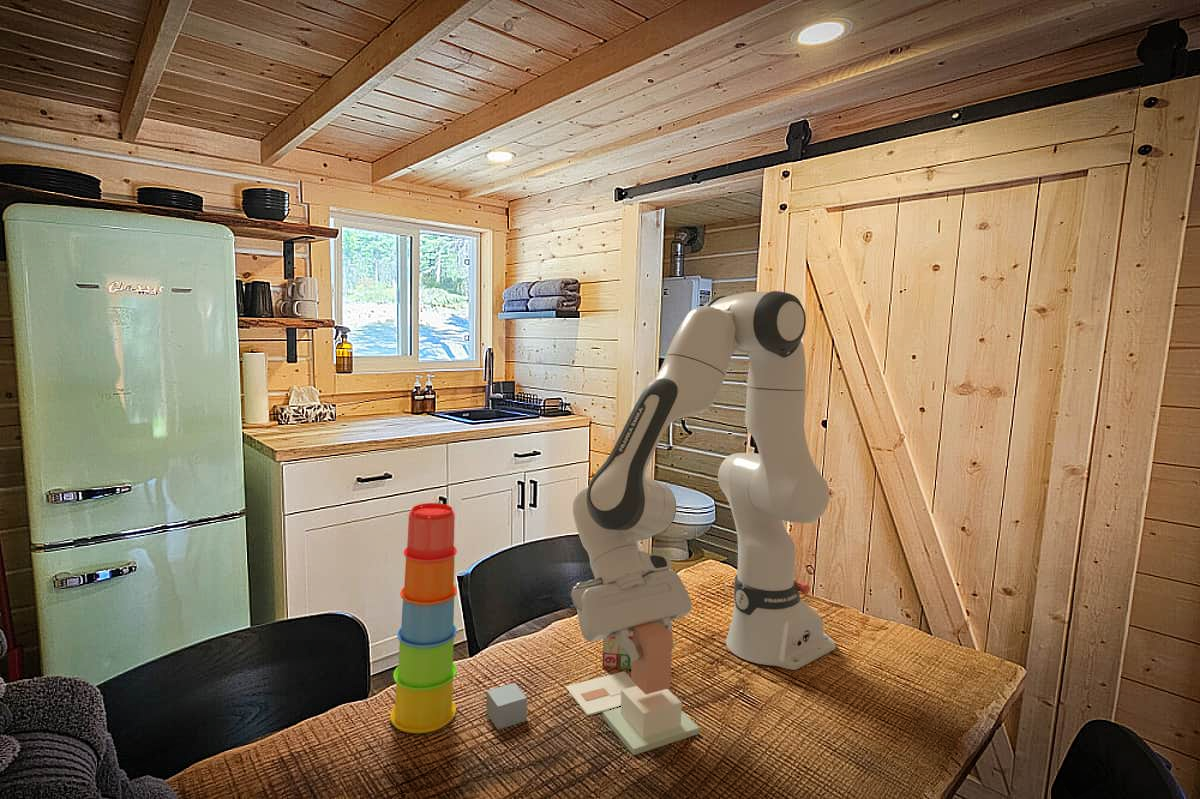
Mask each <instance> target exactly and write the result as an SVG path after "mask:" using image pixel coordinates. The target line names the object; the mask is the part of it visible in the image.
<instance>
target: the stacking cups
mask: <svg viewBox="0 0 1200 799" xmlns="http://www.w3.org/2000/svg"><path fill="white" fill-rule="evenodd" d="M455 518H456V517H455V511H454V510H453V507H452V506H450V505H448V504H446V503H445V504H444V503H440V502H439V503H437V502H434V503H433V502H429V503H428V502H427V503H421V504H416V505H414V506H412V508H411V510H410V511H409V513H408V524H407V526H408V527H407V544H406V545H407V546H406V548H404V550H403V555H404V557H405V568H404V569H405V570H404V571H405V572H404V584H403V585H404V586H403V587H402V588H401V590H400V598H401V599H402V608H401V626H400V628H399V629H398V630H397V634H396V635H397V636H396V637H397V640H398V642H399V644H398V645H399V648H398V649H399V650H398V666H397V667H396V668H395V670H394V672H393V680H394V682H395V683H396V684H395V699H394V700H395V704H394V706H393V708H392V709H391V711H390V715H389V716H390V717H389V718H390V722H391V723H392V726H394V727H395V728H396V729H397V730H399V731H401V732H405V733H407V734H408V733H409V734H427V733H428V734H429V733H432V732H434V731H437V730H440V729H442V728H444V727H446V726H447V725H448V724H449V723H450V722H452V720H453V719H454V717H455V716H456V712H457V706H456V703H455V702H454V700H453V680H454V679H455V677H456V675H457V671H458V670H457V666H456V664H455V663H454V639H455V637H456V636H457V633H458V632H457V627H456V625H455V624H454V620H455V619H454V618H455V616H454V615H455V597H456V595H457V594H458V588H457V586H455V585H454V584H455V582H454V581H455V557H456V554H457V552H458V550H457V547H456V546H455Z"/></svg>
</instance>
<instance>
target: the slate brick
mask: <svg viewBox="0 0 1200 799" xmlns="http://www.w3.org/2000/svg"><path fill="white" fill-rule="evenodd" d="M485 705H486V708H485V709H486V711H485V713H486V715H487V717H488V718H489V717H490V718H489V720H490V721H491V722H492V724H493V723H494V724H493V725H494V727H495V728H496V730H497V729H499V730H501V729H505V728H507V726H508V727H511V726H514V724H515V725H518V724H520V722H521V723H524V722H526V720H527V721H528V696H526V695H525V693H524V692H523V690H522V689H521V688H520V687H519V686H518V685H517V683H516V682H513V683H509V684H505V685H502V686H499V687H498V686H497V687H494V688H490V689H488V690H486V703H485ZM504 727H505V728H504ZM500 728H501V729H500Z"/></svg>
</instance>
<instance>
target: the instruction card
mask: <svg viewBox="0 0 1200 799" xmlns="http://www.w3.org/2000/svg"><path fill="white" fill-rule="evenodd" d="M634 686H637V685H636V684H635V683H634V682H633V681H632V680H631V675H629V674H628V672H626V671H625V670H624V671H619V672H617V673H613V674H608V675H604V676H600V677H597V678H593V679H589V680H585V681H581V682H577V683H573V684H569V685H566V686H565V689H567V690H568V691H569V692H568V691H567V690H566V691H567V692H568V694H571V695H572V696H571V695H570V696H571V698H572V699H573V700H574V699H575V700H574V701H575V702H576V704H577V705H578V704H579V705H578V706H579V707H580V709H581V710H582V711H583V712H584V714H585V715H586V716H587V717H589V716H593V715H596V714H599V713H603V712H605V711H609V710H610V709H611V710H612V709H613V708H614V709H616V708H617V707H618V708H619V706H621V690H623V689H627V688H630V687H634Z"/></svg>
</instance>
